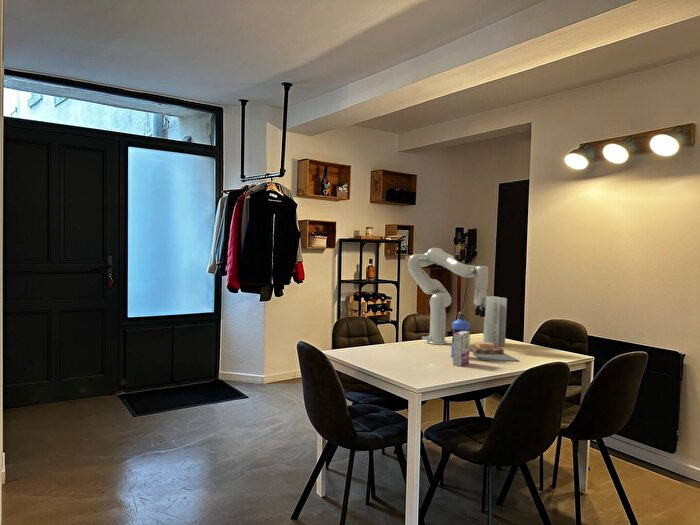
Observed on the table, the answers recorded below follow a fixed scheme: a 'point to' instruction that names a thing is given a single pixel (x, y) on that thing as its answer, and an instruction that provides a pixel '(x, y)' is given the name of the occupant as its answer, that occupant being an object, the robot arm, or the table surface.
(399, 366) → the table surface
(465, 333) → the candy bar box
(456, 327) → the water bottle
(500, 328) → the tall grey box
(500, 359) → the mat
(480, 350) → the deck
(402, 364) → the table surface
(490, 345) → the tile
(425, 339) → the robot arm
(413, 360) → the table surface
